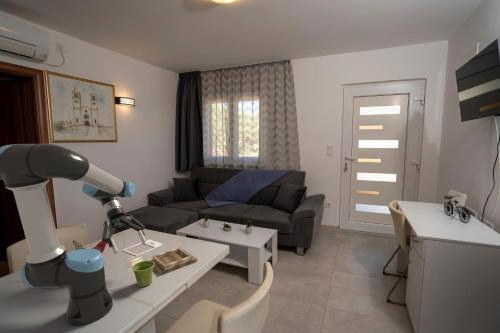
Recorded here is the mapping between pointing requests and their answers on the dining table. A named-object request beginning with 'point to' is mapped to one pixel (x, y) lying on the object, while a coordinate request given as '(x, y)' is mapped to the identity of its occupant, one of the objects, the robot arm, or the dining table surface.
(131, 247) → the photo frame
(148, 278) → the plant pot
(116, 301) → the dining table surface
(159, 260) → the walnut pot stand
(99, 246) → the decorative bird figurine
